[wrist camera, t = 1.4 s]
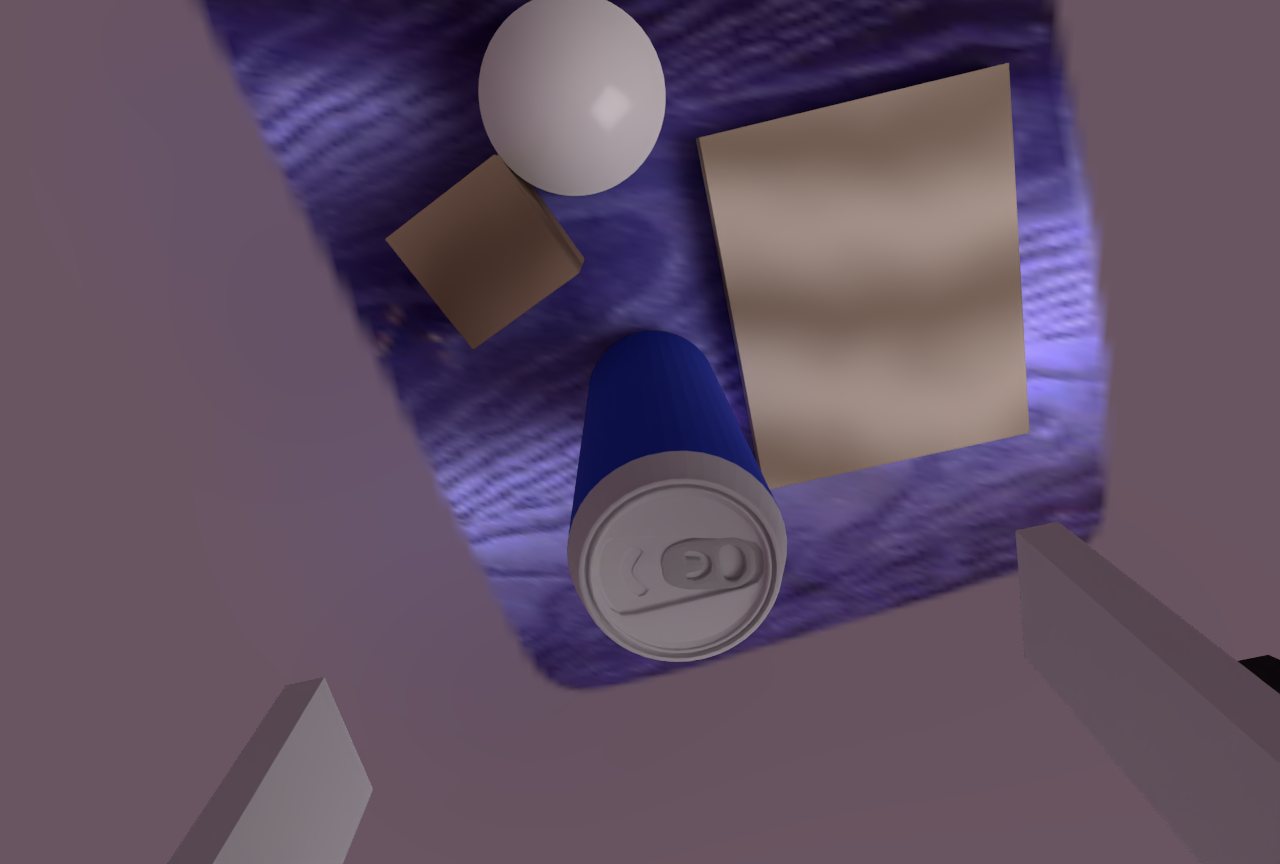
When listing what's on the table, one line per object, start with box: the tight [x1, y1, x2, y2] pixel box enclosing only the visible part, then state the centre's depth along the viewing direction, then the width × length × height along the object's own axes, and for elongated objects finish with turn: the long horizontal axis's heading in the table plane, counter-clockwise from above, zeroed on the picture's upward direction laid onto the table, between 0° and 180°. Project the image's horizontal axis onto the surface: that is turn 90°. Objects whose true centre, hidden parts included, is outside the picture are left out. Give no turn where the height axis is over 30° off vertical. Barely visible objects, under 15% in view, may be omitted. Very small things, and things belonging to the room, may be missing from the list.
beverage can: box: [567, 331, 787, 662], centre depth 24 cm, size 5×5×15 cm
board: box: [696, 63, 1029, 489], centre depth 29 cm, size 14×11×1 cm
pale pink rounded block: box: [478, 0, 665, 196], centre depth 26 cm, size 6×6×4 cm
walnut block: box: [385, 155, 584, 350], centre depth 27 cm, size 4×4×4 cm
